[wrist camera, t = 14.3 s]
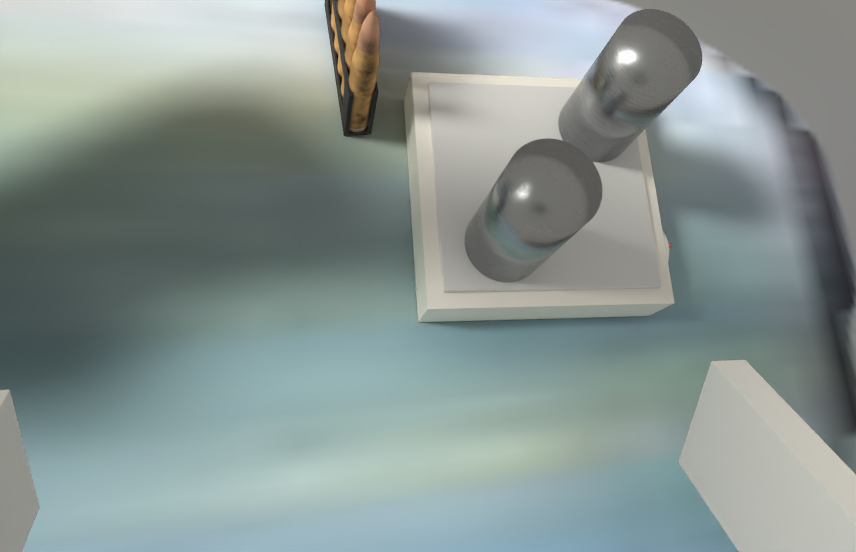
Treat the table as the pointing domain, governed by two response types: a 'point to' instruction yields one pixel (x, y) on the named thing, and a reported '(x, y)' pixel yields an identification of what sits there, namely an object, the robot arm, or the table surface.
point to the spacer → (533, 209)
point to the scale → (474, 178)
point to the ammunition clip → (355, 60)
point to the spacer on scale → (630, 83)
